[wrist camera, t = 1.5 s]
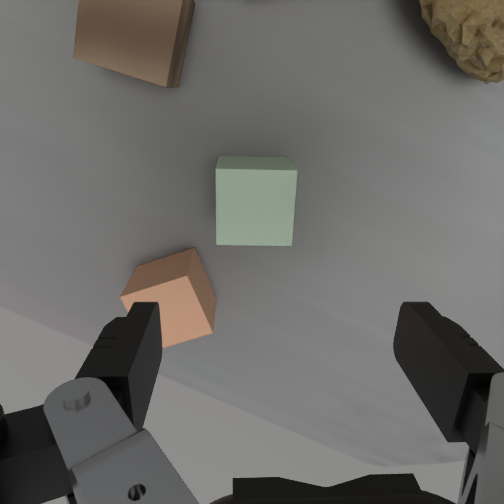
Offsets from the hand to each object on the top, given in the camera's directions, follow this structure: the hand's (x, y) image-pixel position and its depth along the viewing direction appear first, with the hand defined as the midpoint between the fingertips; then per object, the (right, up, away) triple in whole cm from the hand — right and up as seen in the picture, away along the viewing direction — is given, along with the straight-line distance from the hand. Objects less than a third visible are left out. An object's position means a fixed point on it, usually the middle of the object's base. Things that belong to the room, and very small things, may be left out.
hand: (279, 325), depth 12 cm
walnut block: (-8, +16, +12) cm, 21 cm away
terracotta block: (-7, 0, +19) cm, 20 cm away
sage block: (-1, +7, +16) cm, 18 cm away
